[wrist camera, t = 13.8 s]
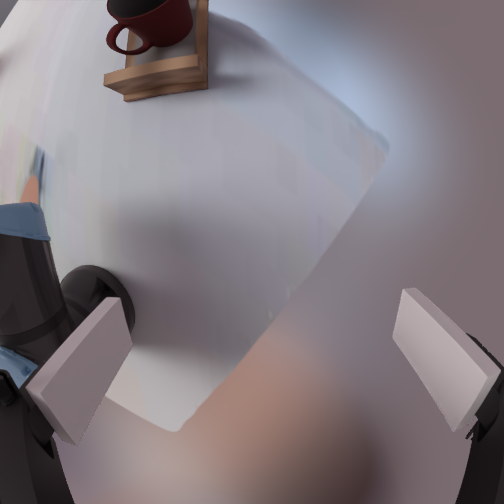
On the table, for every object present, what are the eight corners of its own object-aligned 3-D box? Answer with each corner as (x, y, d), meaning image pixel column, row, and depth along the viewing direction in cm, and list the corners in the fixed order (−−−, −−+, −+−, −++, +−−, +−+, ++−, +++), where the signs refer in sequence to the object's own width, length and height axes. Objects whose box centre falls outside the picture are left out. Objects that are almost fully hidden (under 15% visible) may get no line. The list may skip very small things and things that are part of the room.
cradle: (127, 102, 32) (103, 92, 25) (136, 0, 26) (120, -20, 19) (207, 89, 32) (197, 72, 25) (209, -14, 26) (202, -39, 19)
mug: (163, 77, 30) (130, 49, 19) (117, 60, 29) (77, 35, 18) (210, 14, 27) (197, -29, 16) (162, 0, 25) (138, -37, 15)
